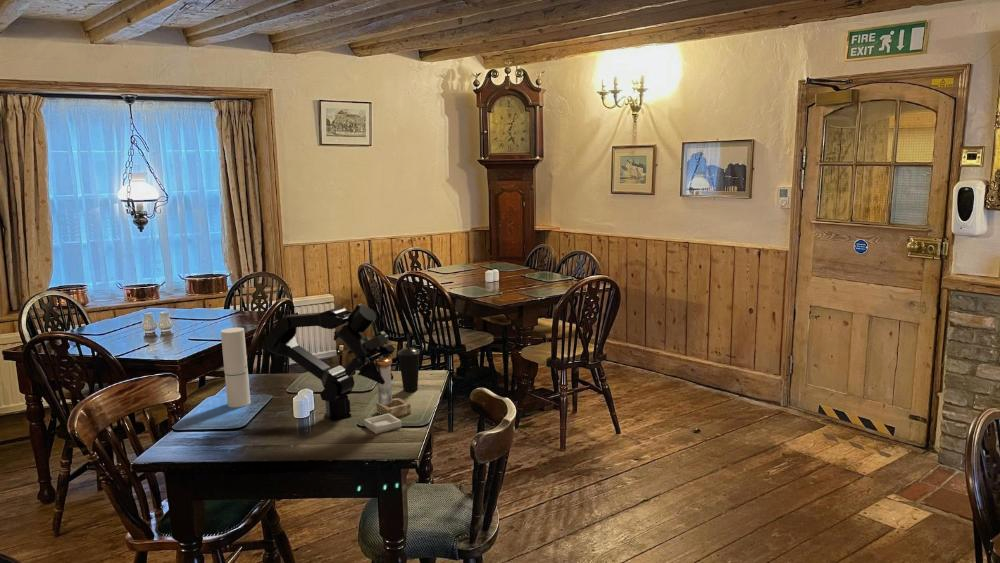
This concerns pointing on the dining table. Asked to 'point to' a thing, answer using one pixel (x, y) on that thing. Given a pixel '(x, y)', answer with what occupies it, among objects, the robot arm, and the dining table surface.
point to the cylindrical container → (235, 367)
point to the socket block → (394, 407)
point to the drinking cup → (409, 367)
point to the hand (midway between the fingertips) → (388, 381)
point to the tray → (382, 423)
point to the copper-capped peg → (385, 372)
